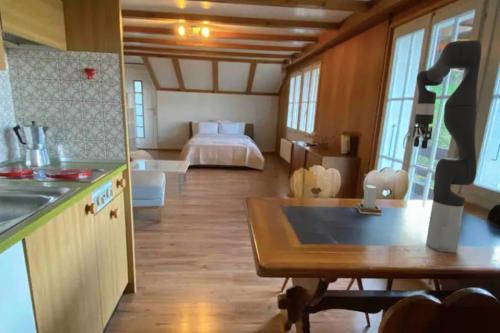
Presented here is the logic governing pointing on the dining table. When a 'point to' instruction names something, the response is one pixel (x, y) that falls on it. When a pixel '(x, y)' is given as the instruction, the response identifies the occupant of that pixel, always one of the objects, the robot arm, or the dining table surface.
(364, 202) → the skincare box
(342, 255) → the dining table surface
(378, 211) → the open birch box
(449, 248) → the robot arm
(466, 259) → the dining table surface
